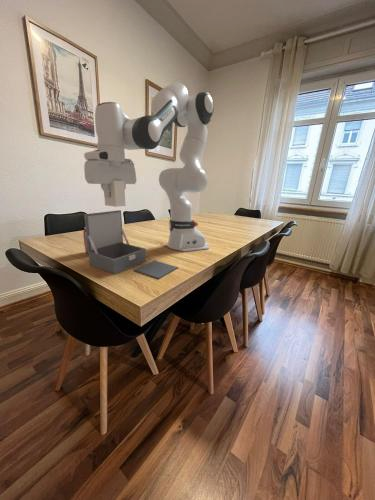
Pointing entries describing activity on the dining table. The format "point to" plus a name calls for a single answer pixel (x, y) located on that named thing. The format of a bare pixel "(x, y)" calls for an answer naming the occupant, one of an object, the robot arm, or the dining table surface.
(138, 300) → the dining table surface
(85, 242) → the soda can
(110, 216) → the case
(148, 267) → the mat
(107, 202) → the block
